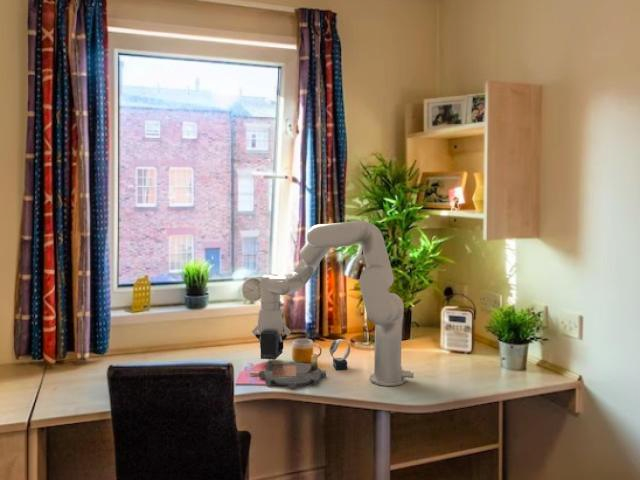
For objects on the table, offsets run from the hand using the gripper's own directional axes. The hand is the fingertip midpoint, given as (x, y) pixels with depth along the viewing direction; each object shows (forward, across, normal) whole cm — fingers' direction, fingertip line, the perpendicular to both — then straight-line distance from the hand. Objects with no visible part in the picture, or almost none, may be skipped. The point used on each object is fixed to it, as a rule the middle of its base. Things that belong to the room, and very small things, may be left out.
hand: (271, 350), depth 219 cm
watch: (+6, -27, +1) cm, 28 cm away
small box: (+2, 0, 0) cm, 2 cm away
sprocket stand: (+5, -7, +16) cm, 18 cm away
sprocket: (+6, -12, +16) cm, 21 cm away
